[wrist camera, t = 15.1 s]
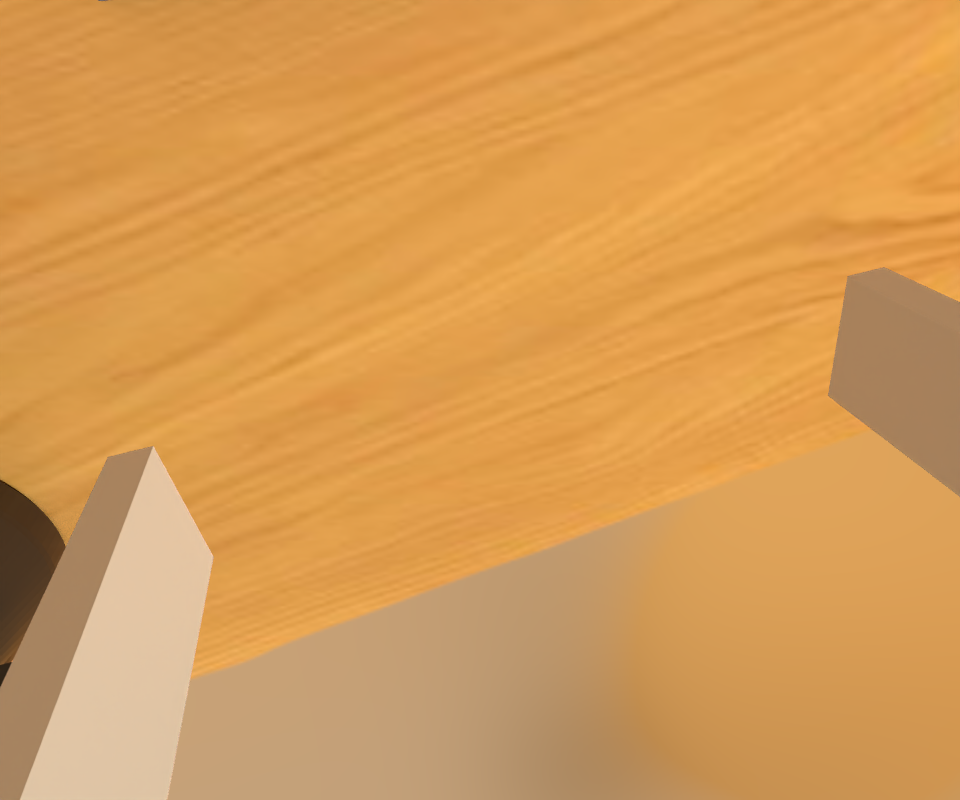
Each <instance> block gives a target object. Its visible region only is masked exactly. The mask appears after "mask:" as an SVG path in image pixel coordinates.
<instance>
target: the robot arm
mask: <svg viewBox="0 0 960 800" xmlns="http://www.w3.org/2000/svg"><path fill="white" fill-rule="evenodd" d="M828 396H829V397H830V398H832V399H833V400H834V401H836V402H837V403H838V404H839V405H841V406H842V407H843V408H845V409H846V410H847V411H849V412H850V413H851V414H853V415H854V416H855V417H856V418H858V419H859V420H860V421H862V422H863V423H864V424H866V425H867V426H868V427H870V428H871V429H872V430H873V431H875V432H876V433H878V434H879V435H880V436H881V437H883V438H884V439H885V440H887V441H888V442H889V443H891V444H892V445H893V446H895V447H896V448H897V449H898V450H900V451H901V452H902V453H904V454H905V455H906V456H907V457H909V458H910V459H911V460H913V461H914V462H915V463H917V464H918V465H919V466H921V467H922V468H923V469H924V470H926V471H927V472H928V473H930V474H931V475H932V476H934V477H935V478H937V479H938V480H939V481H940V482H942V483H943V484H944V485H945V486H947V487H948V488H949V489H951V490H952V491H953V492H955V493H956V494H957V495H959V496H960V302H958V301H956V300H954V299H952V298H949V297H947V296H945V295H943V294H941V293H939V292H936V291H934V290H932V289H930V288H928V287H926V286H923V285H921V284H919V283H917V282H915V281H913V280H910V279H908V278H906V277H904V276H902V275H900V274H897V273H895V272H893V271H891V270H889V269H887V268H884V267H883V268H879V269H875V270H871V271H867V272H863V273H859V274H855V275H851V276H848V278H847V284H846V290H845V296H844V302H843V308H842V314H841V320H840V326H839V332H838V338H837V344H836V350H835V357H834V363H833V369H832V375H831V381H830V387H829V393H828ZM212 563H213V555H212V553H211V552H210V550H209V548H208V546H207V544H206V542H205V540H204V539H203V537H202V535H201V533H200V531H199V529H198V528H197V526H196V524H195V522H194V520H193V518H192V517H191V515H190V513H189V511H188V509H187V507H186V505H185V504H184V502H183V500H182V498H181V496H180V494H179V493H178V491H177V489H176V487H175V485H174V483H173V481H172V480H171V478H170V476H169V474H168V472H167V470H166V469H165V467H164V465H163V463H162V461H161V459H160V457H159V456H158V454H157V452H156V450H155V448H154V446H151V447H147V448H143V449H139V450H135V451H131V452H127V453H123V454H119V455H115V456H111V457H108V458H107V460H106V463H105V465H104V467H103V469H102V471H101V473H100V475H99V477H98V480H97V482H96V484H95V486H94V488H93V490H92V492H91V495H90V497H89V499H88V501H87V503H86V505H85V507H84V510H83V512H82V514H81V516H80V518H79V520H78V522H77V524H76V527H75V529H74V531H73V533H72V535H71V537H70V539H69V542H68V544H67V546H66V547H65V544H64V542H63V540H62V537H61V536H60V534H59V532H58V530H57V529H56V527H55V526H54V524H53V523H52V522H51V521H50V519H49V518H48V517H47V516H46V515H45V514H44V513H43V512H42V511H41V510H40V509H39V508H38V507H37V506H36V505H35V504H34V503H32V502H31V501H30V500H29V499H27V498H26V497H25V496H23V495H22V494H20V493H19V492H17V491H16V490H14V489H13V488H11V487H9V486H8V485H6V484H4V483H2V482H0V800H167V797H168V792H169V787H170V782H171V777H172V771H173V766H174V761H175V755H176V750H177V745H178V740H179V735H180V729H181V724H182V719H183V714H184V708H185V703H186V698H187V693H188V688H189V683H190V677H191V672H192V667H193V662H194V656H195V651H196V646H197V641H198V636H199V630H200V625H201V620H202V615H203V610H204V604H205V599H206V594H207V589H208V583H209V578H210V573H211V568H212ZM12 660H13V661H12ZM11 661H12V662H11Z"/></svg>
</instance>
